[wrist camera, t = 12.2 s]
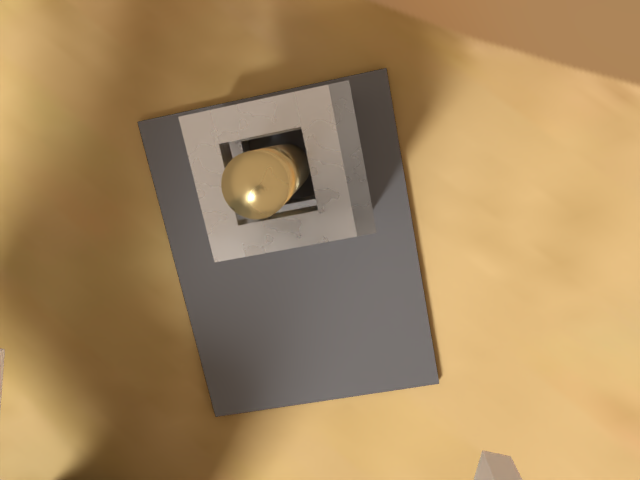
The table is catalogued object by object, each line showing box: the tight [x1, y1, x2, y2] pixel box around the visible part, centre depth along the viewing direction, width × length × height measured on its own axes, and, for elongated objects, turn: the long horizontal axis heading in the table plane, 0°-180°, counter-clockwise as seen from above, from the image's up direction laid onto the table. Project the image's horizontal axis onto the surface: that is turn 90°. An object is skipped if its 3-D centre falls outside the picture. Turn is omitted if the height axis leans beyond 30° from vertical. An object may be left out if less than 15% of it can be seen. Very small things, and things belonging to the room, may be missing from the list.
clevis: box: [178, 80, 377, 262], centre depth 35 cm, size 10×9×8 cm
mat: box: [138, 68, 439, 417], centre depth 41 cm, size 19×25×1 cm
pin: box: [221, 144, 310, 219], centre depth 33 cm, size 4×4×13 cm
